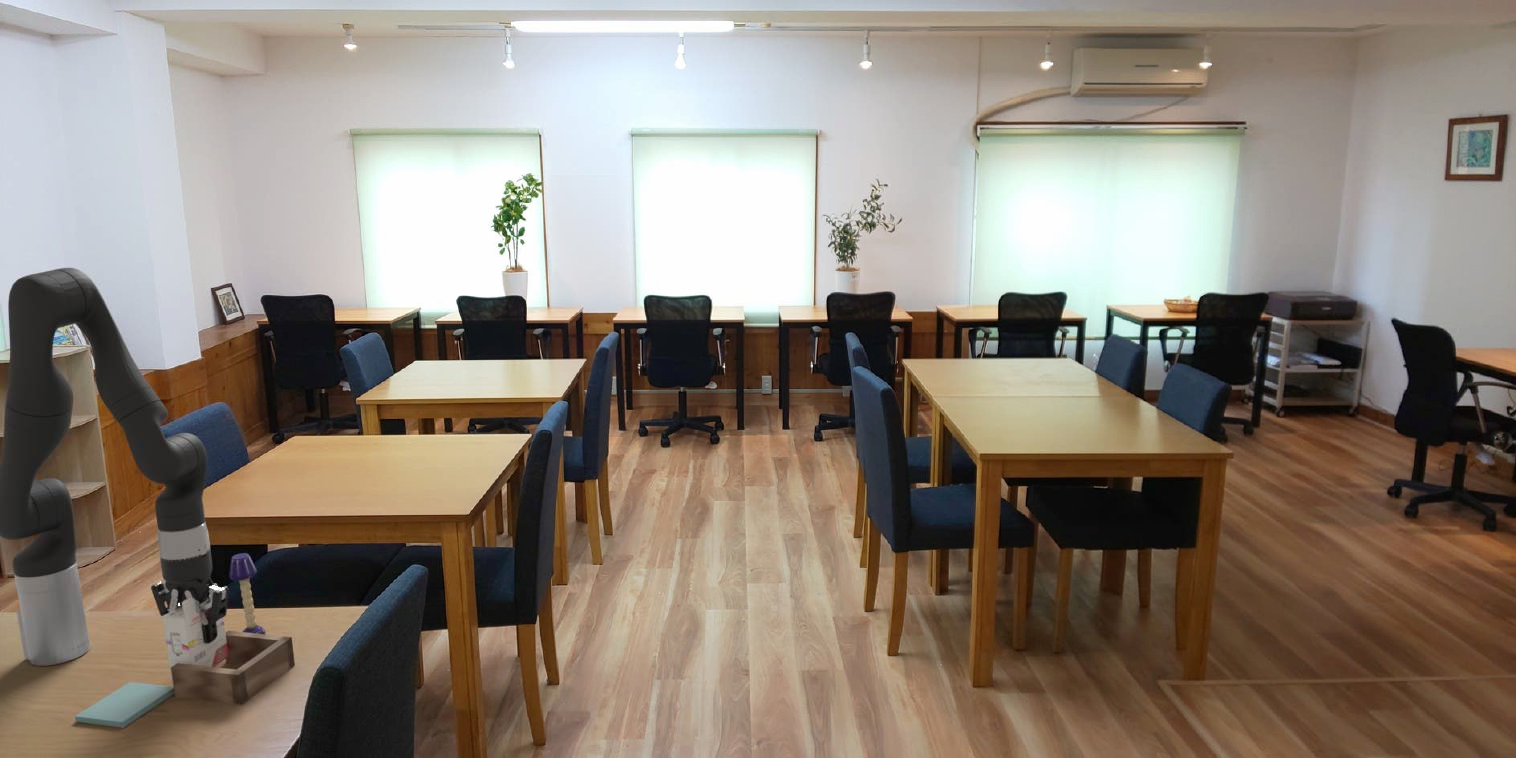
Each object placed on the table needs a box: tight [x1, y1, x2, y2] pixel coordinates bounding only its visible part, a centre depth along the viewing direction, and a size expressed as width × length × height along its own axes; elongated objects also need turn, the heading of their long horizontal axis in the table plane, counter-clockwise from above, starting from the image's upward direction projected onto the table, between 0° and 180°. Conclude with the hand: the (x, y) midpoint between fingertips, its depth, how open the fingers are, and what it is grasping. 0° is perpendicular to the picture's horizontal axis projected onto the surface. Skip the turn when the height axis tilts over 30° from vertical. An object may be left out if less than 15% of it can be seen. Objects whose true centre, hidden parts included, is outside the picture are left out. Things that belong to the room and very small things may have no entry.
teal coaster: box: [74, 681, 175, 729], centre depth 162 cm, size 9×11×1 cm
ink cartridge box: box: [161, 583, 228, 679], centre depth 170 cm, size 9×5×15 cm, turn 169°
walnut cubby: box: [170, 630, 296, 706], centre depth 169 cm, size 13×14×6 cm
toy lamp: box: [229, 552, 266, 635], centre depth 184 cm, size 5×5×17 cm
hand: (196, 639), depth 170 cm, fingers closed on ink cartridge box, 5 cm apart
